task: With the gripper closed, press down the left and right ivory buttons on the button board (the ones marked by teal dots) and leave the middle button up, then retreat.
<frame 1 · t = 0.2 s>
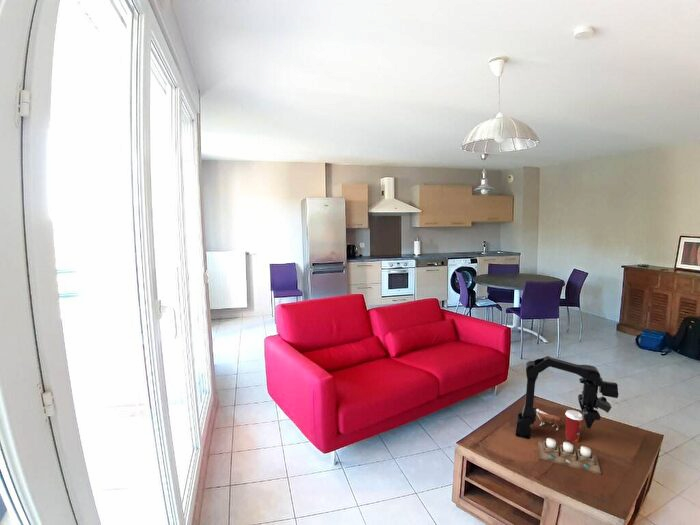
hand: (586, 422, 167), 14 cm above the table, fingers open, 9 cm apart
paper cup: (571, 439, 178), on the table
button left: (550, 444, 167), point 4 cm above the table, slide at 0.0 cm
board: (567, 458, 164), on the table
button mid: (567, 448, 164), point 4 cm above the table, slide at 0.0 cm
bull figurine: (546, 426, 189), on the table
button right: (585, 452, 161), point 4 cm above the table, slide at 0.0 cm
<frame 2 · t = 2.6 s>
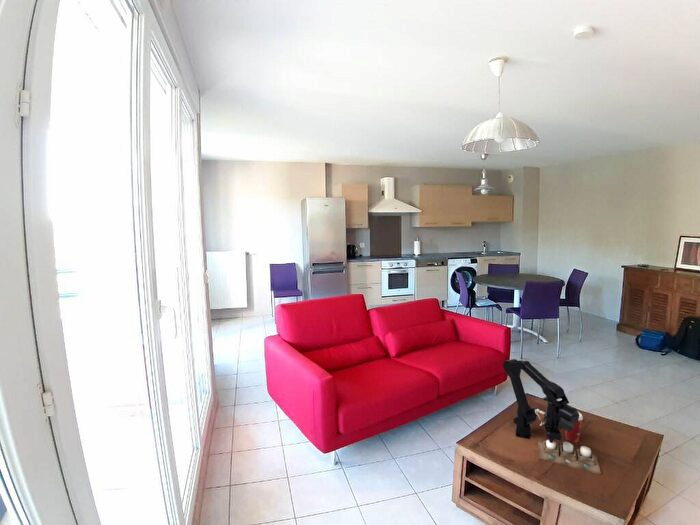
hand: (550, 442, 167), 5 cm above the table, fingers closed, pressing on button left
button left: (550, 445, 167), point 4 cm above the table, slide at 0.9 cm, touching gripper
everything else where it was.
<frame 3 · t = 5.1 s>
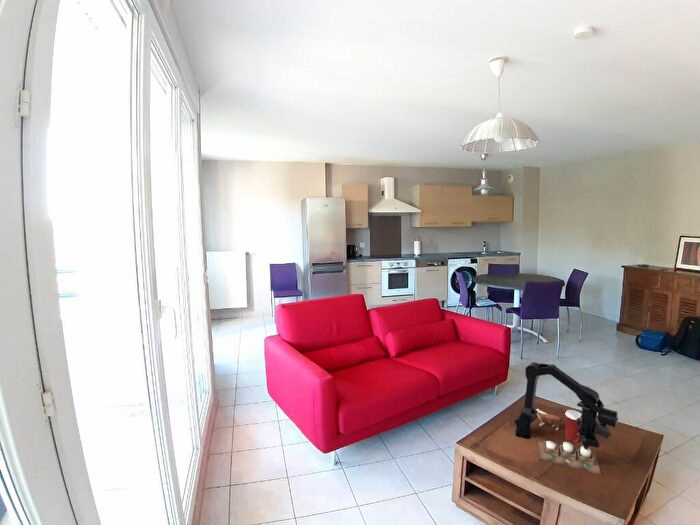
hand: (585, 448, 161), 6 cm above the table, fingers closed, pressing on button right
button left: (550, 446, 167), point 3 cm above the table, slide at 1.5 cm
button right: (585, 452, 161), point 4 cm above the table, slide at 0.0 cm, touching gripper
everything else where it was.
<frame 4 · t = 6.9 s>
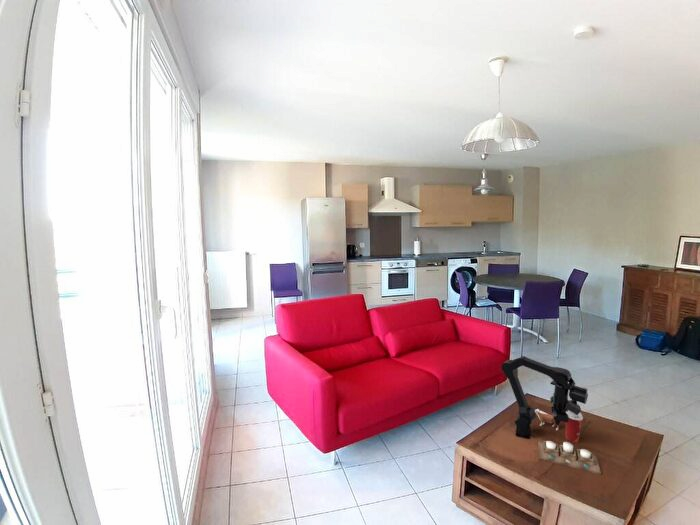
hand: (557, 424, 169), 12 cm above the table, fingers closed
button right: (585, 455, 161), point 3 cm above the table, slide at 1.5 cm
everything else where it was.
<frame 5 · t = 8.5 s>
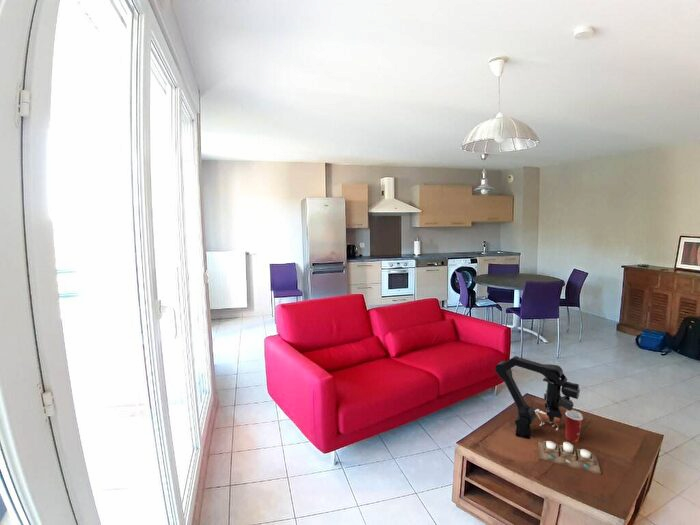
hand: (551, 421, 171), 13 cm above the table, fingers closed
nothing on the table moved.
at the end: button left slide at 1.5 cm; button right slide at 1.5 cm; button mid slide at 0.0 cm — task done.
